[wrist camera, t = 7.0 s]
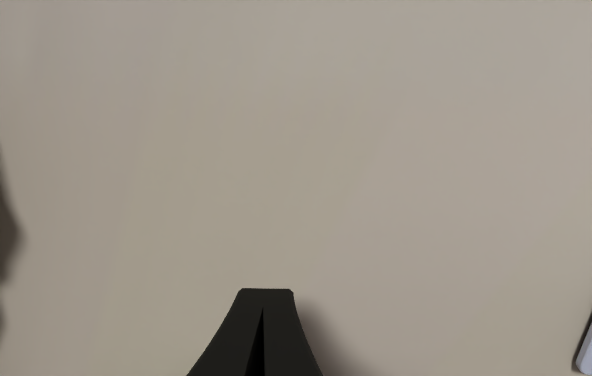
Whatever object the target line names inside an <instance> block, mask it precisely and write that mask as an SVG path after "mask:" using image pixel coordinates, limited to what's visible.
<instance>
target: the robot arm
mask: <svg viewBox="0 0 592 376" xmlns="http://www.w3.org/2000/svg"><path fill="white" fill-rule="evenodd" d="M576 365H577V367H578V368H579V370H580V371H581V372H582V373H583V374H587V375H592V323H591V325H590V328H589V330H588V333H587V335H586V338H585V340H584V342H583V345H582V347H581V350H580V352H579V355H578V357H577V360H576ZM187 376H323V374H322V372H321V370H320V368H319V366H318V364H317V362H316V360H315V358H314V356H313V354H312V351H311V349H310V347H309V344H308V342H307V339H306V337H305V335H304V332H303V329H302V327H301V324H300V320H299V317H298V314H297V311H296V307H295V302H294V296H293V292H292V291H291V290H290V289H256V288H242V289H241V290H240V291H239V292H238V293H237V296H236V298H235V300H234V302H233V304H232V306H231V308H230V310H229V312H228V314H227V316H226V317H225V319H224V321H223V323H222V324H221V326H220V328H219V329H218V331H217V332H216V334H215V335H214V337H213V339H212V340H211V342H210V343H209V345H208V346H207V348H206V349H205V351H204V352H203V354H202V355H201V356H200V358H199V359H198V361H197V362H196V363H195V365H194V366H193V367H192V369H191V370H190V372H189V373H188V374H187Z"/></svg>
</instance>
